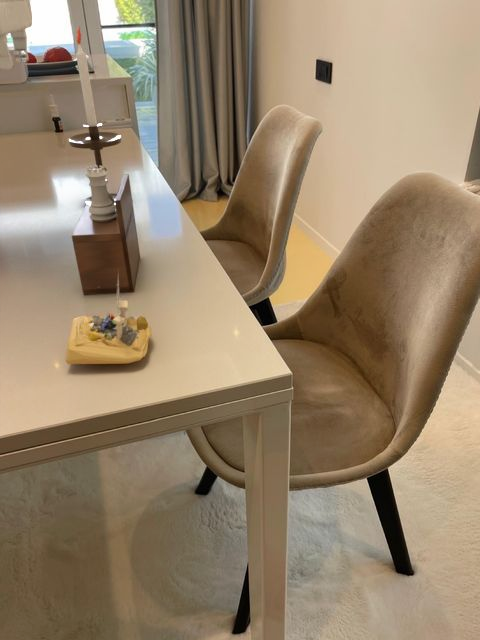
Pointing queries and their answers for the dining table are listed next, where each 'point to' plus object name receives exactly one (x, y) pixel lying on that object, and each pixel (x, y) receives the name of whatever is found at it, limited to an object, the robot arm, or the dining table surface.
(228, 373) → the dining table surface
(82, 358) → the cake
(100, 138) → the candlestick
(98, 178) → the rook chess piece
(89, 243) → the wooden box with backrest
